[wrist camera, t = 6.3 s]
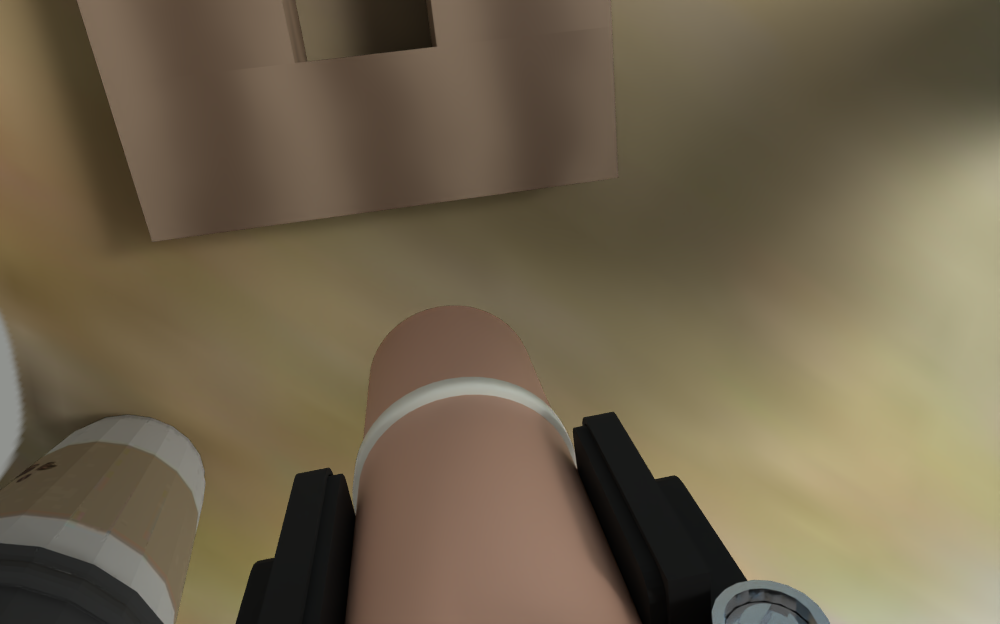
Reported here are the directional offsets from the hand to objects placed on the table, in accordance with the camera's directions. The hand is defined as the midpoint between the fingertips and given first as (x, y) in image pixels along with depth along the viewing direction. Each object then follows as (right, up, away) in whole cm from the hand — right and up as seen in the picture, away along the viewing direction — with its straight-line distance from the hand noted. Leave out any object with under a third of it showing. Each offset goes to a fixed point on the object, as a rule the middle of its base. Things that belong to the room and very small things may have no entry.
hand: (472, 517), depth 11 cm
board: (-6, +18, +17) cm, 26 cm away
